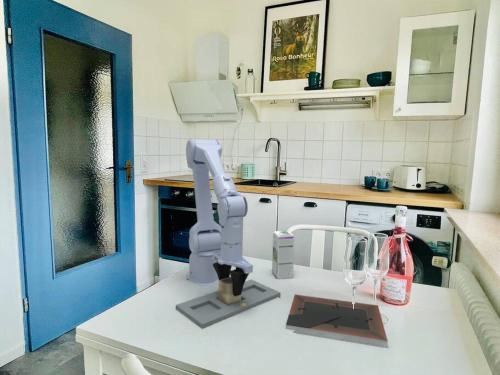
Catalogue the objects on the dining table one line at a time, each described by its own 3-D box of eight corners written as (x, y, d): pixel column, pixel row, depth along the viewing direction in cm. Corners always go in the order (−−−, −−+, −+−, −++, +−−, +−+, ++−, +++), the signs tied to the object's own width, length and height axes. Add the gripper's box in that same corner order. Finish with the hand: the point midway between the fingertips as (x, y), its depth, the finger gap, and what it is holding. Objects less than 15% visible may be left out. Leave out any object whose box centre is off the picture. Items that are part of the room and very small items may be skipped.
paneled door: (175, 311, 82) (175, 303, 82) (251, 284, 99) (251, 278, 99) (202, 331, 73) (202, 323, 73) (280, 298, 90) (280, 291, 90)
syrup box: (293, 278, 105) (295, 234, 103) (276, 279, 104) (277, 235, 102) (287, 271, 111) (289, 230, 109) (271, 272, 109) (272, 230, 108)
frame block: (218, 302, 86) (218, 280, 85) (231, 297, 89) (231, 275, 88) (227, 307, 83) (228, 285, 82) (241, 302, 86) (241, 280, 85)
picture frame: (285, 334, 74) (386, 351, 68) (285, 323, 74) (387, 339, 68) (294, 302, 90) (377, 313, 84) (294, 293, 89) (378, 304, 84)
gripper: (203, 238, 87) (202, 286, 88) (238, 251, 76) (236, 306, 78) (223, 234, 92) (223, 280, 93) (259, 245, 81) (258, 297, 82)
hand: (230, 291), depth 86 cm, fingers open, 5 cm apart
